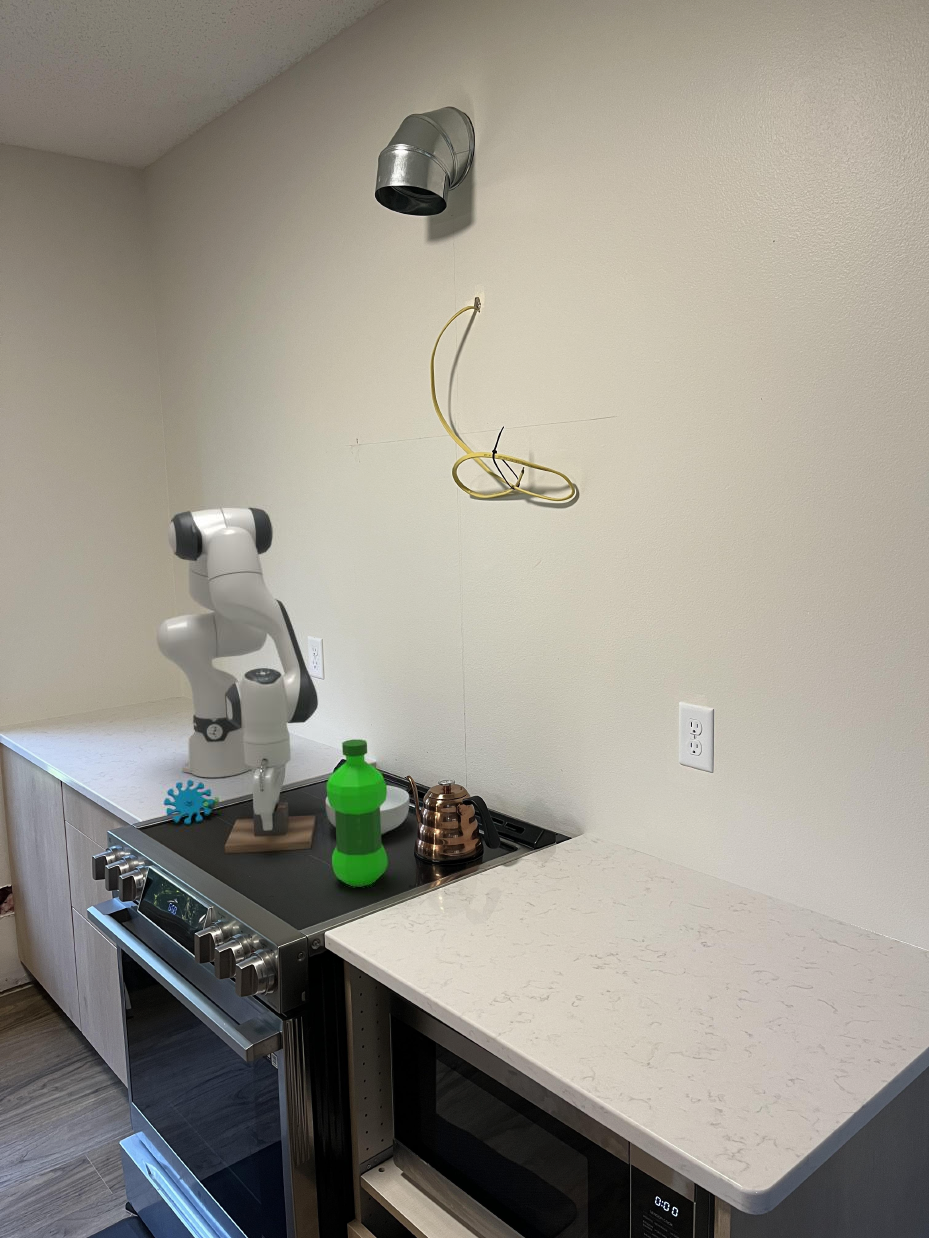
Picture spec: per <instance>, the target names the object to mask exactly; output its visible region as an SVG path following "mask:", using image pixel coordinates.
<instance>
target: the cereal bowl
mask: <svg viewBox="0 0 929 1238" xmlns="http://www.w3.org/2000/svg"><path fill="white" fill-rule="evenodd" d="M386 786H387V795H386V800H385V802H384V803H383V804H382V805H381V806H380V821H381V836H382V835H384V834H386V833H387V832H389V831H392V830H394V829H396V828H397V827H400V825H401V824H403V822H404V821H405V819H406V818H407V816H408V814H409V810H410V809H409V808H410V794H409V793H408V791H406V790H404V788H403V789H402V788H400V787H398V786H393V785H388V784H386ZM325 812H326V816H327V819H328V821H329V822H330V823H331V824H332V825H333V827H335V828H336V821H335V810H334V809H333V808H332V807H331V806H330V804H329V800H328V796H326V798H325Z"/></svg>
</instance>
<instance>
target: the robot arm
mask: <svg viewBox="0 0 929 1238" xmlns="http://www.w3.org/2000/svg"><path fill="white" fill-rule="evenodd" d="M167 538H168V543H169V545H170V547H171V549H172V551H173V554H174V555H175V556H177V558H179V559H181V560H184V561H188V592H189V594H190V597H191V599H192V600H193V601H194V602H195V603H196V604H198V605H200V606H201V607H202V608H206V609H207V610H211V611H212V612H205V613H195V614H194V613H193V614H192V613H191V614H183V615H179V616H175V617H171V618H169V619H168V618H167V619H164V621H163V622H162V623H161V624H160V626H159V628H158V630H157V634H156V642H157V643H156V644H157V647H158V649H159V651H160V653H161V654H162V655H163V656H164V657H165V658H166V659H168V660H169V661H171V662H173V663H175V665H176V666H178V667H179V668H180V670H182V671H183V673H184V674H185V676H186V677H187V679H188V682H189V684H190V688H191V692H192V698H193V699H192V700H193V709H194V714H193V717H192V719H193V720H192V726H193V730H194V733H192V735H191V736H189V738H188V741H187V743H188V745H187V746H188V763H187V764H185V765H184V766H182V772H184V773H189V774H192V775H194V776H197V777H202V778H223V777H230V776H231V777H232V776H236V775H240V774H243V773H246V772H247V771H248V772H249V771H252V772H253V773H254V774H253V777H252V804H253V806H252V807H253V813H254V812H255V814H257V815H260V814H261V818H262V822H263V829H264V830H265V831H266V830H272V828H273V819H272V813H273V812H274V809H275V806H276V803H280V793H281V791H282V788H283V785H284V782H285V778H286V764H287V763H289V762H290V761H291V759H292V758H291V754H292V753H291V739H290V732H289V730H288V729H289V728H288V724H299V723H301V724H302V723H305V722H307V721H308V720H309V719H310V718H311V717H312V716H313V715H314V713H315V712H316V710H317V709H318V707H319V706H318V704H319V702H318V700H319V699H318V693H317V689H316V686H315V683H314V682H313V680H312V679H313V678H312V677H311V675H310V672H309V671H308V668H307V665H306V663H305V659H304V657H303V654H302V651H301V647H300V645H299V642H298V640H297V639H298V638H297V635H296V633H295V630H294V626H293V625H292V621H291V619H290V616H289V613H288V611H287V609H286V607H285V605H284V604H283V602H282V601H281V600H279V599H276V598H275V597H274V596H273V595H272V594H271V593H270V591H269V589H268V587H267V586H266V583H265V580H264V573H263V568H262V564H261V563H262V562H261V560H260V556H259V555H262V554H265V553H267V552H268V550H269V549H270V548H271V547H272V542H273V538H274V527H273V523H272V521H271V518H270V516H269V514H268V513H267V512H266V511H265V510H264V509H261V508H257V507H247V508H243V507H219V508H212V509H211V508H210V509H203V510H198V511H197V510H196V511H193V512H191V511H190V510H187V511H182V512H180V513H176V514H175V515H174V516H172V518H171V520H170V525H169V528H168V537H167ZM268 636H269V637H270V638H271V640H273V641H272V642H273V643H274V645H275V648H276V651H277V654H278V657H279V660H280V663H281V666H282V669H283V672H284V674H283V675H282V672H280V671H278V670H277V669H273V668H268V667H263V668H262V667H261V668H258V667H257V668H254V669H251V670H249V671H246V672H245V673H244V674H243V676H242V679H241V680H240V681H239V680H238V679H237V678H236V676H235V675H233V674H231V673H229V672H226V671H225V670H222V669H219V668H216V667H214V666H213V660H215V659H219V658H227V657H228V658H230V657H239V656H240V657H241V656H245V655H248V654H251V653H255V652H259V651H260V650H261V649H262V648H263V647H264V645H265V643H266V641H267V637H268Z"/></svg>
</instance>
